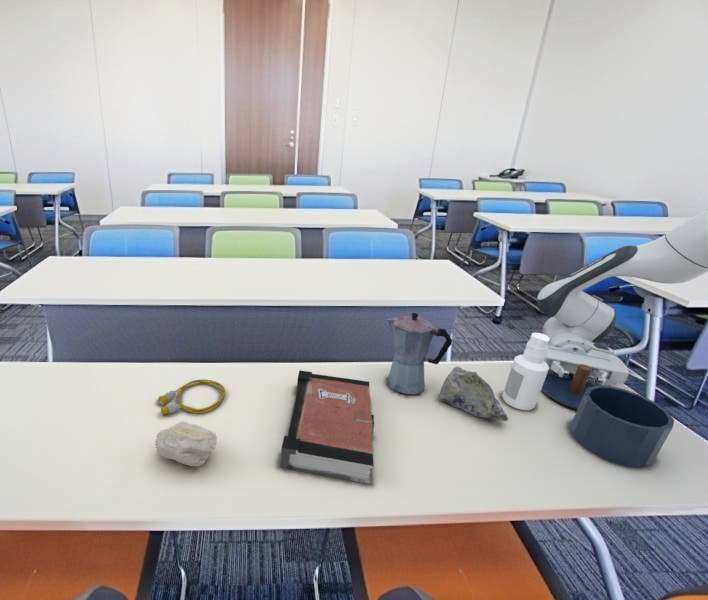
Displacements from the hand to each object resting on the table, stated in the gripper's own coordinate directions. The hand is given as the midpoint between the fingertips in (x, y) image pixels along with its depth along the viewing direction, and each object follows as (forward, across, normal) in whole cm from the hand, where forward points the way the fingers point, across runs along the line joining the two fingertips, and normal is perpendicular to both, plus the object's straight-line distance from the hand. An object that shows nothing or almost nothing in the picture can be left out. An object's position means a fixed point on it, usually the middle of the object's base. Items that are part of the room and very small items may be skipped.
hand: (582, 379), depth 95 cm
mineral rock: (+17, -24, +6) cm, 30 cm away
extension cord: (+41, -84, +6) cm, 94 cm away
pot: (+15, +3, +5) cm, 16 cm away
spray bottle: (+8, -13, +6) cm, 16 cm away
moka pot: (+13, -38, +6) cm, 41 cm away
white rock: (+57, -75, +6) cm, 94 cm away
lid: (-1, 0, +5) cm, 5 cm away
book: (+37, -51, +6) cm, 64 cm away
